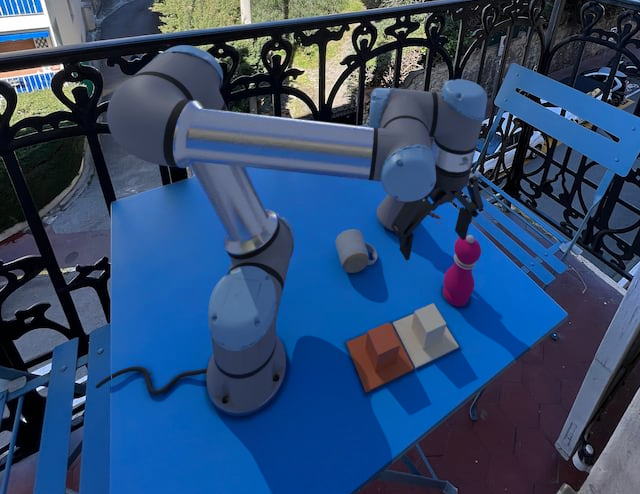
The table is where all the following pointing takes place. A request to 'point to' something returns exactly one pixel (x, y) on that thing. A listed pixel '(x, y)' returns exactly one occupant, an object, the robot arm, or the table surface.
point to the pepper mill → (461, 271)
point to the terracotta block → (382, 347)
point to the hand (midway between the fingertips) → (433, 244)
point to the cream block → (428, 326)
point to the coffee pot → (392, 211)
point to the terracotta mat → (366, 369)
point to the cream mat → (414, 347)
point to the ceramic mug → (354, 251)
